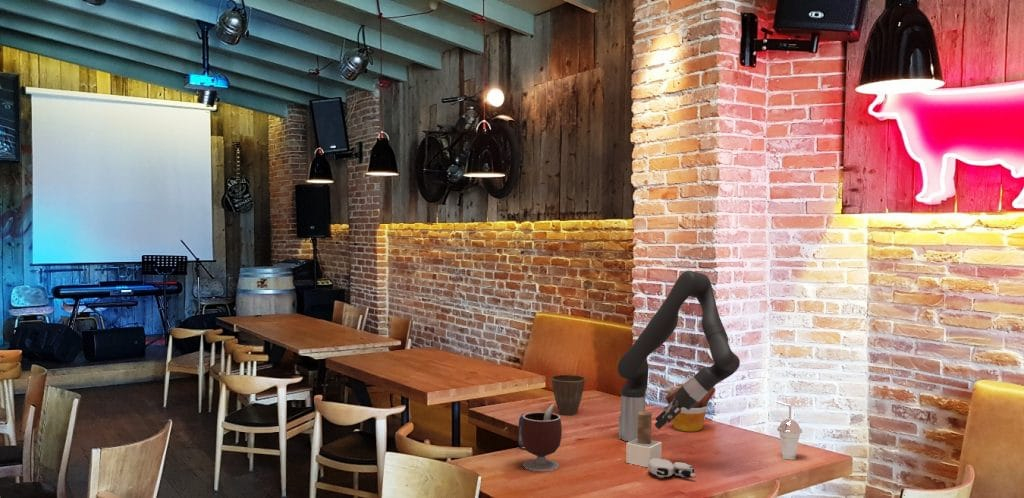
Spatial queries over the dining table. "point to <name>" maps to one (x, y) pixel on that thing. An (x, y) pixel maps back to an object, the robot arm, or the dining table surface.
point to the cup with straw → (789, 436)
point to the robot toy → (669, 468)
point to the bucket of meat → (689, 412)
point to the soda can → (520, 431)
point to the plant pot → (568, 392)
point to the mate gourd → (541, 438)
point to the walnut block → (644, 427)
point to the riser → (642, 452)
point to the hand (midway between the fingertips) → (656, 424)
